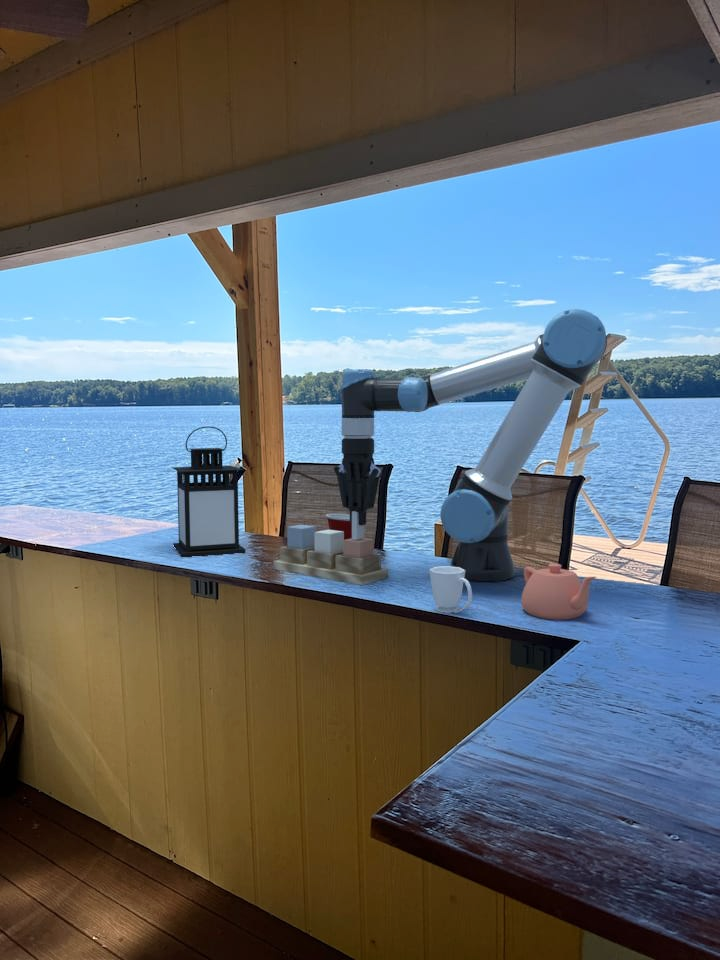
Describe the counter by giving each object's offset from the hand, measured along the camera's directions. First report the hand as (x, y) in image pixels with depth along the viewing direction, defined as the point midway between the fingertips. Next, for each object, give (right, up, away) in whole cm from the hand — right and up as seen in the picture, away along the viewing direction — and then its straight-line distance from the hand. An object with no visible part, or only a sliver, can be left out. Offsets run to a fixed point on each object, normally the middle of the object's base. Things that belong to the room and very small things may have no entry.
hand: (357, 538), depth 171 cm
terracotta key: (0, -6, 0) cm, 6 cm away
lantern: (-42, -6, +37) cm, 57 cm away
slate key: (-14, -4, +12) cm, 19 cm away
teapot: (+39, -12, -30) cm, 50 cm away
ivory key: (-7, -5, +6) cm, 10 cm away
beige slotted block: (-7, -9, +6) cm, 13 cm away
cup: (+18, -12, -28) cm, 36 cm away
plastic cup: (-3, -8, +22) cm, 24 cm away
